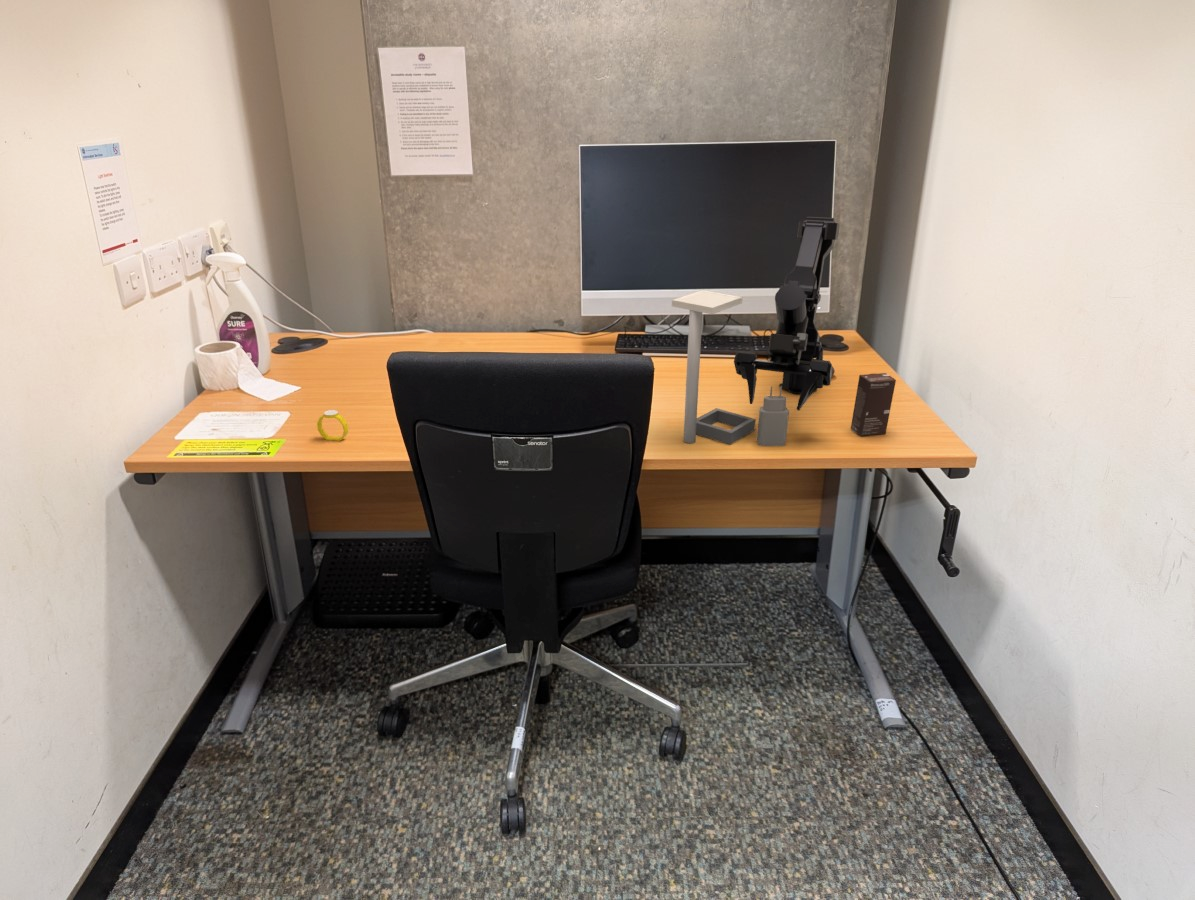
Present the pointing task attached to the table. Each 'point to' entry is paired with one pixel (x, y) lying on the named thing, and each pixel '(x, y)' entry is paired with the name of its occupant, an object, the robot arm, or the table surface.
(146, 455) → the table surface
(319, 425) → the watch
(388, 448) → the table surface
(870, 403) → the box
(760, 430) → the power adapter
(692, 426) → the tall pedestal stand
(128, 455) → the table surface
